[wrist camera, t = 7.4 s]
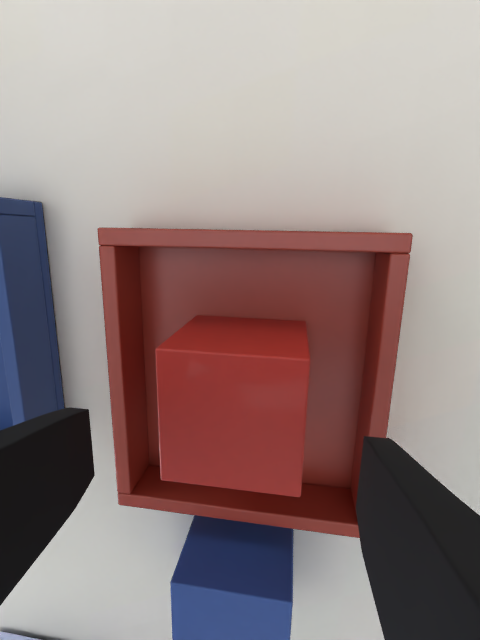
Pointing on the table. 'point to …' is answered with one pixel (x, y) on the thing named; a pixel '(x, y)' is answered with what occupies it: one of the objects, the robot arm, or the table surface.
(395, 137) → the table surface
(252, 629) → the blue block
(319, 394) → the red tray
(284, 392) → the red block
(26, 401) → the blue tray
